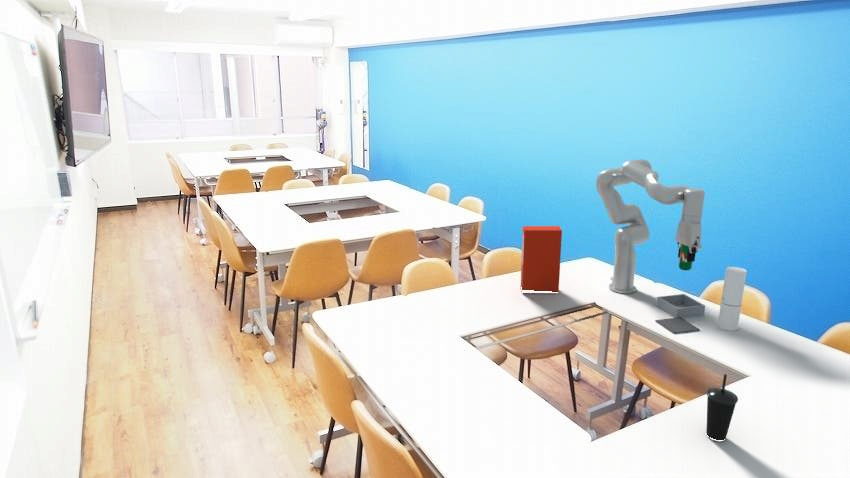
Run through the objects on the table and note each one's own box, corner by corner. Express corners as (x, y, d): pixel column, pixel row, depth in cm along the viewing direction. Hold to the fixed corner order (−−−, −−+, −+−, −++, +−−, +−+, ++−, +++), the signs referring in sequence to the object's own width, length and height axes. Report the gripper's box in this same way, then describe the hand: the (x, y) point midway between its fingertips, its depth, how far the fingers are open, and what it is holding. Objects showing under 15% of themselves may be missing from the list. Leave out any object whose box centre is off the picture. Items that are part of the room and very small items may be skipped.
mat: (655, 321, 224) (655, 320, 224) (680, 318, 226) (680, 317, 226) (673, 333, 213) (673, 332, 212) (699, 330, 215) (700, 329, 215)
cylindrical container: (732, 323, 221) (741, 266, 213) (740, 331, 214) (750, 273, 207) (714, 323, 221) (723, 266, 214) (722, 330, 214) (731, 272, 207)
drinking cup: (695, 429, 155) (704, 368, 149) (720, 427, 155) (729, 367, 150) (710, 446, 147) (720, 383, 142) (737, 444, 148) (747, 381, 142)
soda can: (690, 267, 229) (693, 240, 226) (692, 271, 224) (695, 244, 221) (677, 266, 231) (680, 240, 227) (679, 270, 226) (682, 243, 223)
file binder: (558, 294, 254) (562, 230, 245) (522, 294, 256) (524, 230, 246) (555, 288, 262) (559, 225, 253) (520, 287, 263) (522, 225, 254)
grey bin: (656, 306, 239) (657, 296, 238) (682, 303, 241) (684, 293, 240) (676, 318, 226) (677, 308, 225) (703, 315, 229) (705, 305, 227)
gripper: (670, 214, 228) (665, 254, 233) (697, 223, 212) (692, 266, 217) (685, 213, 230) (680, 252, 235) (714, 222, 214) (708, 265, 219)
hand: (686, 259), depth 226 cm, fingers closed on soda can, 5 cm apart
